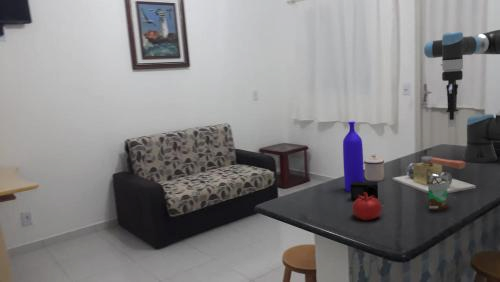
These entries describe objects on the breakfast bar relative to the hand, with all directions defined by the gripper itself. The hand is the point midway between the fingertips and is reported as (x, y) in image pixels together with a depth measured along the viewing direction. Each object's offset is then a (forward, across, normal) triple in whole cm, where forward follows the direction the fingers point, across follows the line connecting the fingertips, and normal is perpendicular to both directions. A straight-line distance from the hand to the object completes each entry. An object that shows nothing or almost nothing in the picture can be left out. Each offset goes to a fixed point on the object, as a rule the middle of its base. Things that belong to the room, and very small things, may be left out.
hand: (452, 126), depth 167 cm
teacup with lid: (+25, +3, -34) cm, 42 cm away
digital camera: (+25, +34, -28) cm, 50 cm away
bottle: (+25, +22, -36) cm, 49 cm away
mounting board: (+24, +4, -7) cm, 26 cm away
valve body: (+23, +6, -9) cm, 26 cm away
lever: (+14, +9, -3) cm, 17 cm away
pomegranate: (+25, +52, -21) cm, 61 cm away
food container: (+25, +33, 0) cm, 41 cm away
